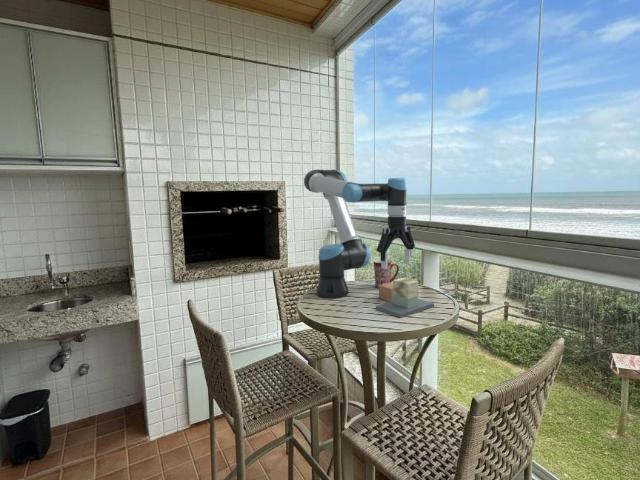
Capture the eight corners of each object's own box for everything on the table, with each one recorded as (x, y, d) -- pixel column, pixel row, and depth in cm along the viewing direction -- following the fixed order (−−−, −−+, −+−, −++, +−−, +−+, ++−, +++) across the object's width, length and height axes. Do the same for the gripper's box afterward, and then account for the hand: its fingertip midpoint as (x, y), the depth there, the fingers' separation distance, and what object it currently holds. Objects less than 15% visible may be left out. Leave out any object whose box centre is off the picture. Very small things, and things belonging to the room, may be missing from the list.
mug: (374, 289, 164) (373, 262, 163) (372, 284, 173) (372, 259, 172) (400, 289, 163) (400, 262, 162) (397, 284, 172) (397, 258, 171)
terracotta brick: (378, 298, 150) (378, 285, 150) (388, 295, 154) (388, 283, 153) (391, 302, 144) (391, 288, 143) (401, 299, 147) (401, 286, 146)
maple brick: (393, 294, 136) (392, 280, 135) (403, 291, 139) (403, 277, 139) (408, 298, 129) (408, 283, 129) (418, 295, 133) (418, 281, 132)
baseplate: (375, 309, 135) (375, 296, 134) (409, 299, 146) (408, 287, 146) (400, 318, 124) (400, 303, 124) (434, 306, 136) (434, 293, 135)
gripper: (381, 218, 127) (380, 272, 130) (424, 214, 141) (422, 263, 144) (367, 217, 133) (367, 268, 136) (410, 213, 147) (409, 260, 150)
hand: (396, 266), depth 140 cm, fingers open, 13 cm apart
